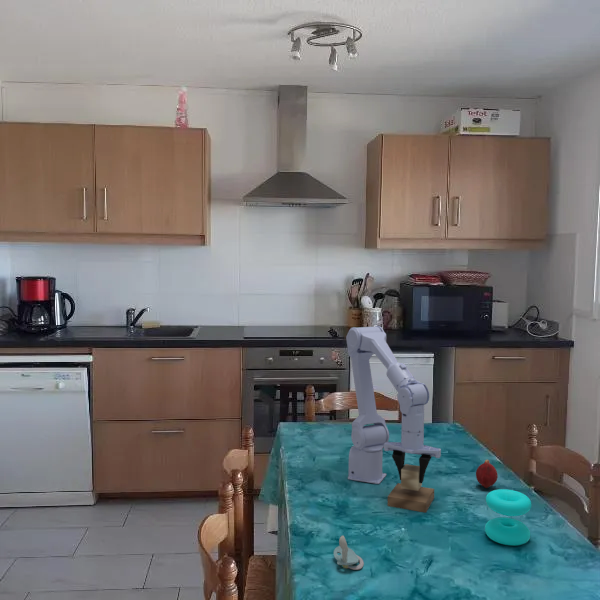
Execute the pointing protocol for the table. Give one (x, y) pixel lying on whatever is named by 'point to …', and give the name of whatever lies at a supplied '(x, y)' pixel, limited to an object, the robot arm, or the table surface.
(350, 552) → the pacifier
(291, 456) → the table surface
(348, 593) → the table surface
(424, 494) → the walnut block
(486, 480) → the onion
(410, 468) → the maple block
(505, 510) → the donuts
